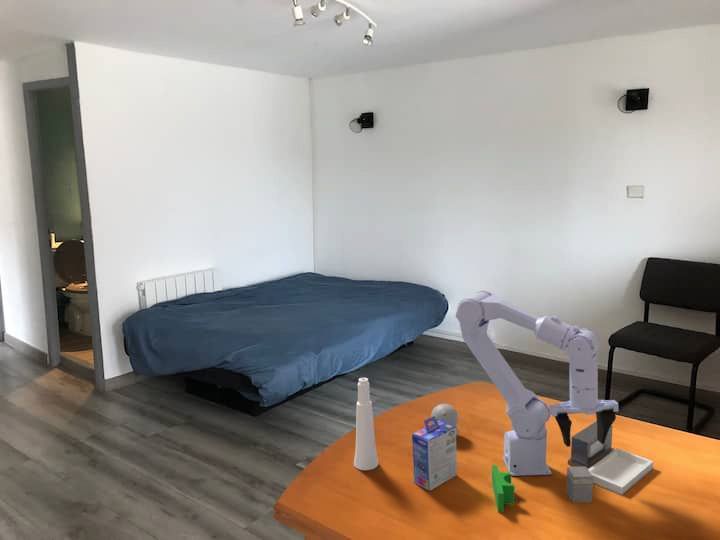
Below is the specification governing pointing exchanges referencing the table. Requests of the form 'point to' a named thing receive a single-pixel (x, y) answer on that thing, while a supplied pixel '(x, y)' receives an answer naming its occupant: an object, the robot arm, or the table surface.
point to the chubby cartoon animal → (446, 415)
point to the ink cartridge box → (434, 454)
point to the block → (579, 484)
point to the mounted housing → (589, 447)
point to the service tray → (620, 470)
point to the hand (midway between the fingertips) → (584, 443)
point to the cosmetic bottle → (365, 430)
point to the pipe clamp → (502, 488)
